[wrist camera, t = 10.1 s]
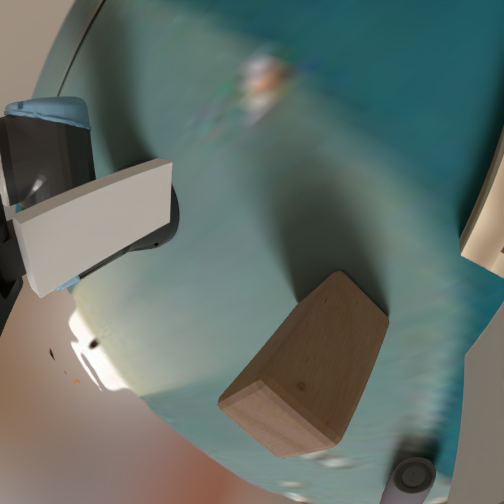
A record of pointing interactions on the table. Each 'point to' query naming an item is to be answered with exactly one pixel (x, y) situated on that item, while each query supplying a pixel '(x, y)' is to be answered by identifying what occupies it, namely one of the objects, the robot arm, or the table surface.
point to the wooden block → (310, 371)
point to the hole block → (488, 219)
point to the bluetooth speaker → (410, 482)
